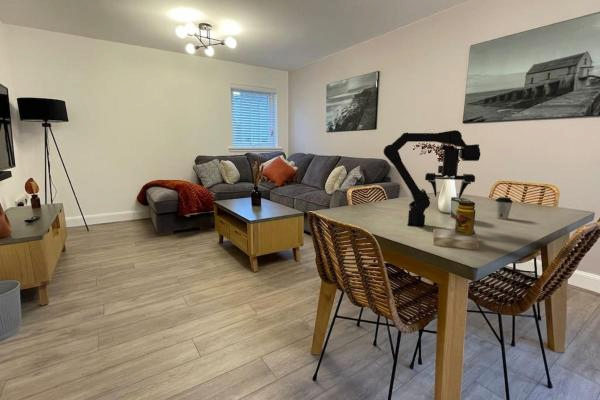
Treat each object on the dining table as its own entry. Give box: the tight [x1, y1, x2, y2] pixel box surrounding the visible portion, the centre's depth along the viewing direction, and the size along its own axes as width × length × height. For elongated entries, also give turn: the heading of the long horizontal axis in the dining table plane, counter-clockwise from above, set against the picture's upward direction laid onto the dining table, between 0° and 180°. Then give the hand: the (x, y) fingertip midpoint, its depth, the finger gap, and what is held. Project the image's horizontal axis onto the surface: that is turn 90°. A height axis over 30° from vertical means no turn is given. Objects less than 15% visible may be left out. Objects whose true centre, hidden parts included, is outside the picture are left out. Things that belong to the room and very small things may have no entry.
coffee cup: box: [495, 196, 513, 221], centre depth 141 cm, size 7×7×10 cm
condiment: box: [452, 200, 477, 238], centre depth 109 cm, size 7×8×12 cm
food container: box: [450, 196, 472, 221], centre depth 139 cm, size 12×6×10 cm, turn 179°
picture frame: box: [432, 228, 480, 251], centre depth 109 cm, size 14×12×3 cm
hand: (447, 197), depth 127 cm, fingers open, 9 cm apart
